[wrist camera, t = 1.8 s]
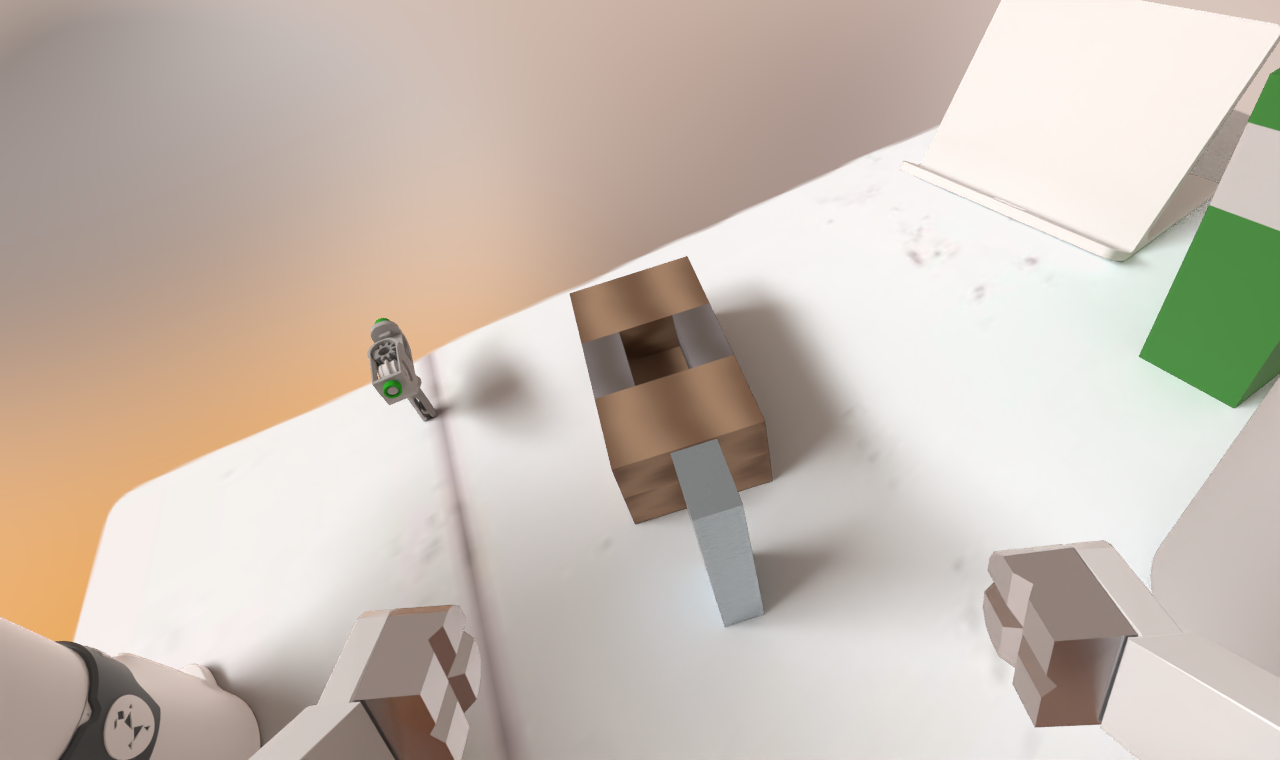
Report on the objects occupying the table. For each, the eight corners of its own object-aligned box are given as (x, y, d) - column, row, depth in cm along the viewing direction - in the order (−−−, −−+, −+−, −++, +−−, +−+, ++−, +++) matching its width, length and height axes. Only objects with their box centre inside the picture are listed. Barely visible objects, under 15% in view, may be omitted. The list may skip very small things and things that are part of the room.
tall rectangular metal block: (724, 626, 49) (692, 520, 38) (705, 566, 52) (670, 453, 42) (764, 614, 49) (742, 504, 38) (742, 554, 52) (717, 438, 42)
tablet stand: (1001, 119, 84) (1028, -32, 72) (1221, 191, 68) (1305, 12, 55) (894, 185, 80) (905, 37, 67) (1102, 279, 63) (1165, 106, 51)
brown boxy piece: (635, 524, 56) (611, 469, 50) (591, 350, 71) (569, 293, 66) (772, 480, 56) (765, 421, 50) (699, 316, 71) (687, 256, 66)
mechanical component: (436, 378, 74) (392, 311, 67) (450, 444, 67) (403, 377, 60) (410, 389, 74) (363, 323, 66) (421, 456, 66) (371, 390, 59)
